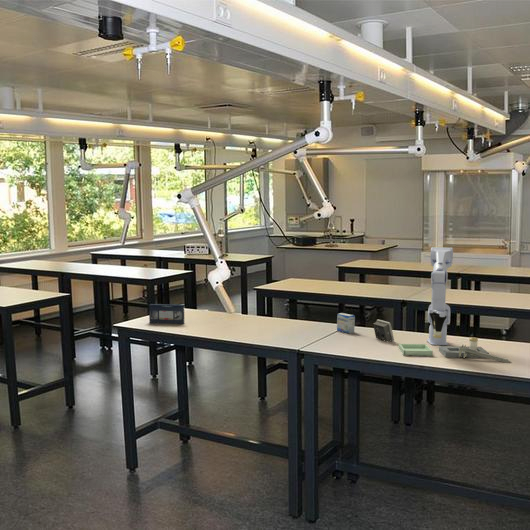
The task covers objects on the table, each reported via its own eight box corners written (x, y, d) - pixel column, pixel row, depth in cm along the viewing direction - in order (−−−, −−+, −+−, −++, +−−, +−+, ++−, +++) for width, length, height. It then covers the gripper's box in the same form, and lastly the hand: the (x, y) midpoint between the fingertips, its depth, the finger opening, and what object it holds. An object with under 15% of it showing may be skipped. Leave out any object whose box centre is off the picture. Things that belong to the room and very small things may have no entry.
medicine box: (336, 330, 301) (336, 313, 300) (342, 329, 304) (342, 312, 303) (348, 333, 295) (349, 316, 294) (354, 332, 298) (355, 314, 297)
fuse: (467, 353, 259) (468, 337, 258) (475, 353, 259) (476, 337, 258) (470, 355, 255) (470, 339, 255) (478, 355, 255) (478, 339, 254)
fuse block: (438, 350, 263) (438, 346, 263) (480, 351, 262) (480, 346, 262) (445, 357, 252) (445, 352, 252) (489, 357, 251) (489, 353, 251)
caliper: (458, 358, 251) (459, 344, 250) (458, 358, 252) (459, 343, 251) (511, 363, 244) (512, 348, 244) (511, 362, 245) (512, 347, 245)
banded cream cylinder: (432, 336, 259) (433, 320, 259) (440, 336, 259) (441, 320, 258) (434, 338, 256) (434, 321, 255) (442, 338, 256) (443, 321, 255)
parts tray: (398, 348, 266) (398, 343, 266) (425, 349, 266) (426, 344, 265) (403, 355, 254) (403, 350, 254) (432, 356, 254) (432, 351, 253)
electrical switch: (394, 341, 280) (393, 322, 278) (385, 343, 277) (384, 324, 276) (381, 337, 288) (380, 318, 286) (372, 339, 285) (371, 320, 284)
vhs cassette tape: (149, 323, 316) (148, 304, 315) (150, 322, 319) (150, 303, 318) (183, 324, 314) (183, 305, 313) (184, 323, 317) (184, 304, 316)
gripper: (424, 296, 263) (423, 326, 265) (433, 301, 249) (432, 334, 250) (441, 296, 263) (439, 326, 264) (450, 302, 248) (449, 334, 250)
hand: (437, 330), depth 257 cm, fingers closed on banded cream cylinder, 3 cm apart
